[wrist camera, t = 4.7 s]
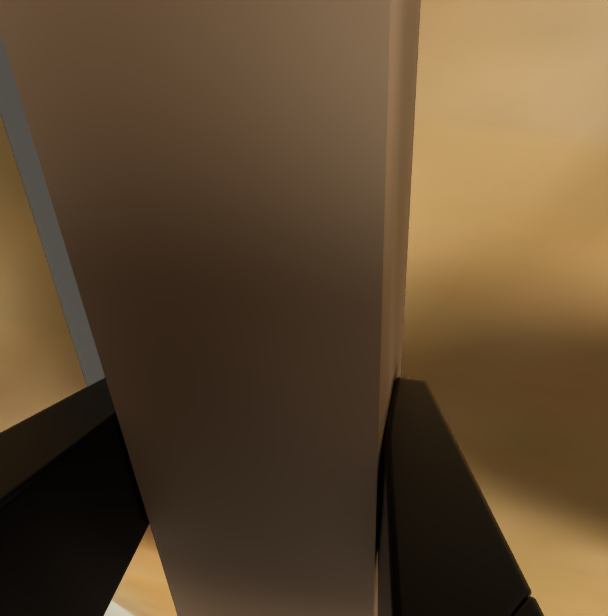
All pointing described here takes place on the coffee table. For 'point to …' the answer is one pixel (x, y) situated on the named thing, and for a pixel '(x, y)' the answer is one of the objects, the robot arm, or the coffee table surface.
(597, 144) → the coffee table surface
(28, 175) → the rest board
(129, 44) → the turner
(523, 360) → the coffee table surface
